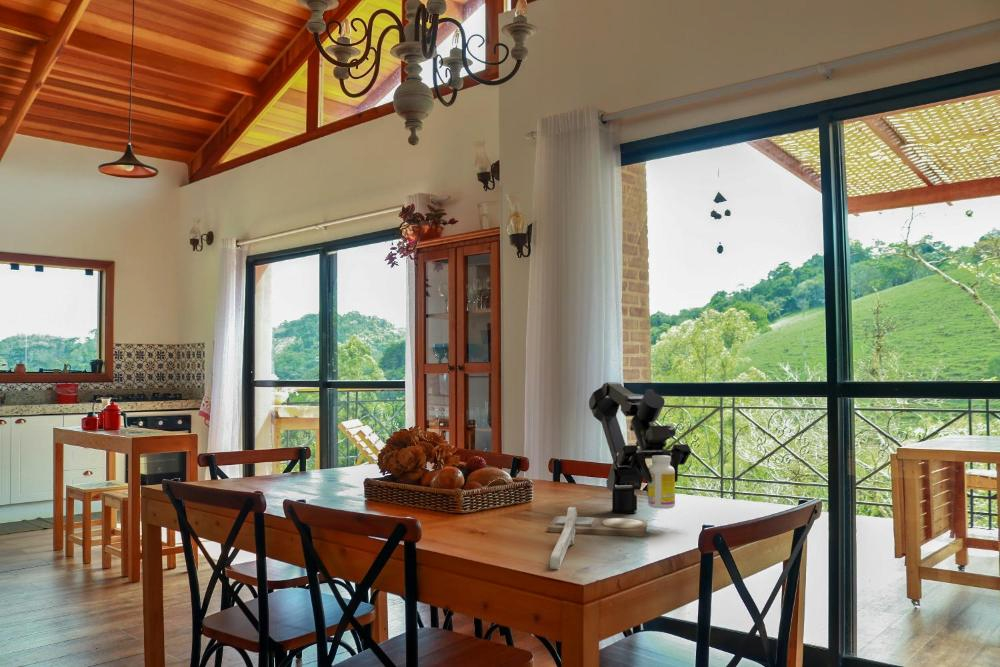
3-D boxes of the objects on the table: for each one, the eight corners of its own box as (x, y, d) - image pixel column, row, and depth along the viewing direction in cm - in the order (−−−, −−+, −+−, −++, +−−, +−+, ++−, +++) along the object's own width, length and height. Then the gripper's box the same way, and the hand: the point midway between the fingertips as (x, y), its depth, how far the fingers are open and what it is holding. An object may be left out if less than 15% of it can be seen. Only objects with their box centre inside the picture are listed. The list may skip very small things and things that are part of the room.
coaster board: (547, 532, 207) (548, 524, 207) (555, 520, 222) (555, 513, 222) (645, 536, 202) (645, 529, 202) (647, 524, 217) (647, 517, 217)
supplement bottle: (678, 506, 212) (678, 455, 213) (669, 510, 207) (669, 458, 207) (653, 503, 216) (653, 453, 216) (644, 507, 210) (644, 456, 210)
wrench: (549, 584, 170) (570, 536, 199) (558, 584, 170) (577, 537, 199) (549, 545, 170) (569, 503, 199) (558, 546, 169) (577, 504, 198)
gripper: (621, 413, 213) (638, 462, 202) (688, 413, 218) (708, 460, 207) (609, 441, 221) (625, 490, 210) (674, 440, 225) (693, 487, 214)
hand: (663, 481), depth 210 cm, fingers closed on supplement bottle, 7 cm apart
